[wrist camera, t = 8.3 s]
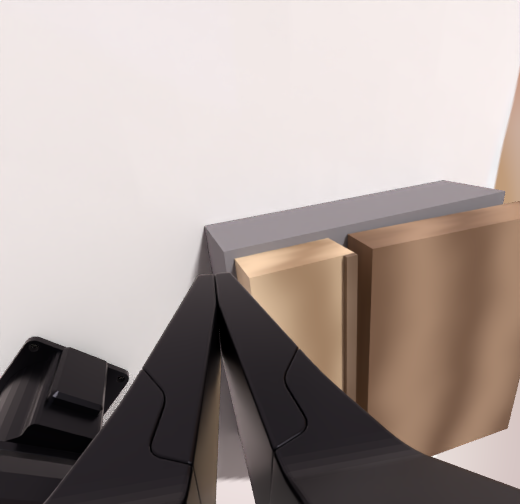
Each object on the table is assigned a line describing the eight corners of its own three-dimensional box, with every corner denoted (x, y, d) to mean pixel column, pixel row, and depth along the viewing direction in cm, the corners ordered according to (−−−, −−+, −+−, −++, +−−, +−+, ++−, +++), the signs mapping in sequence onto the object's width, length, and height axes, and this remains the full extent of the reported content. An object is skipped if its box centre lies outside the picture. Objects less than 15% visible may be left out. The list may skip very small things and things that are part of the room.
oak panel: (264, 482, 24) (279, 524, 21) (234, 258, 17) (251, 280, 15) (332, 453, 25) (354, 489, 23) (328, 238, 19) (357, 254, 16)
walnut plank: (347, 448, 26) (365, 480, 23) (347, 234, 19) (372, 248, 17) (479, 403, 28) (507, 428, 26) (518, 201, 22) (560, 210, 19)
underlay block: (238, 433, 28) (258, 490, 24) (204, 225, 22) (223, 251, 17) (423, 364, 34) (468, 400, 29) (443, 180, 27) (505, 191, 22)
